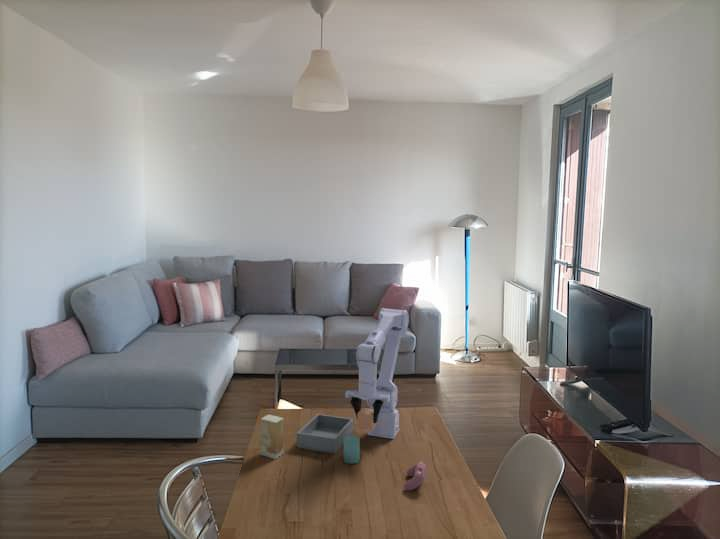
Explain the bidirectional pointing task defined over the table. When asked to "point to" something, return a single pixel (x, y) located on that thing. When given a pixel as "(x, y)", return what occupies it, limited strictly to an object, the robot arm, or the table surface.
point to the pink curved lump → (415, 476)
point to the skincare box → (272, 436)
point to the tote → (325, 433)
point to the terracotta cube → (366, 419)
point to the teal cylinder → (351, 449)
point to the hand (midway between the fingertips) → (367, 420)
